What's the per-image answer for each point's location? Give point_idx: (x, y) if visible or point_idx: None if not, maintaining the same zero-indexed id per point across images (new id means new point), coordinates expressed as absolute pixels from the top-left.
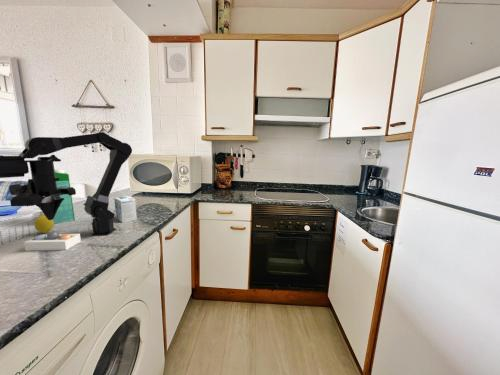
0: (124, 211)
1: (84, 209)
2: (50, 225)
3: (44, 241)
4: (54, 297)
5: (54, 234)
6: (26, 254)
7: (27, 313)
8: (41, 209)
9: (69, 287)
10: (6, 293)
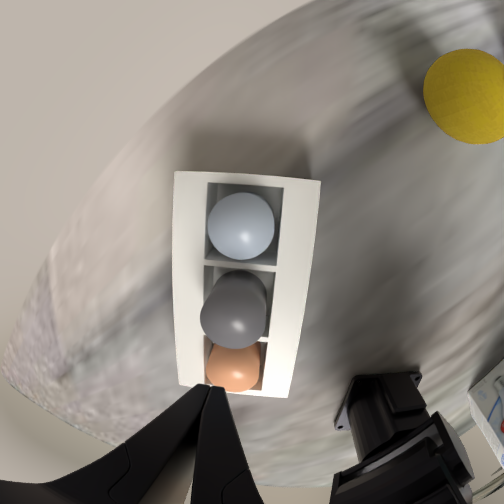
0: (487, 428)
1: (436, 458)
2: (463, 138)
3: (179, 290)
4: (35, 402)
5: (215, 337)
6: (149, 215)
7: (13, 383)
8: (94, 469)
9: (53, 414)
10: (13, 332)
